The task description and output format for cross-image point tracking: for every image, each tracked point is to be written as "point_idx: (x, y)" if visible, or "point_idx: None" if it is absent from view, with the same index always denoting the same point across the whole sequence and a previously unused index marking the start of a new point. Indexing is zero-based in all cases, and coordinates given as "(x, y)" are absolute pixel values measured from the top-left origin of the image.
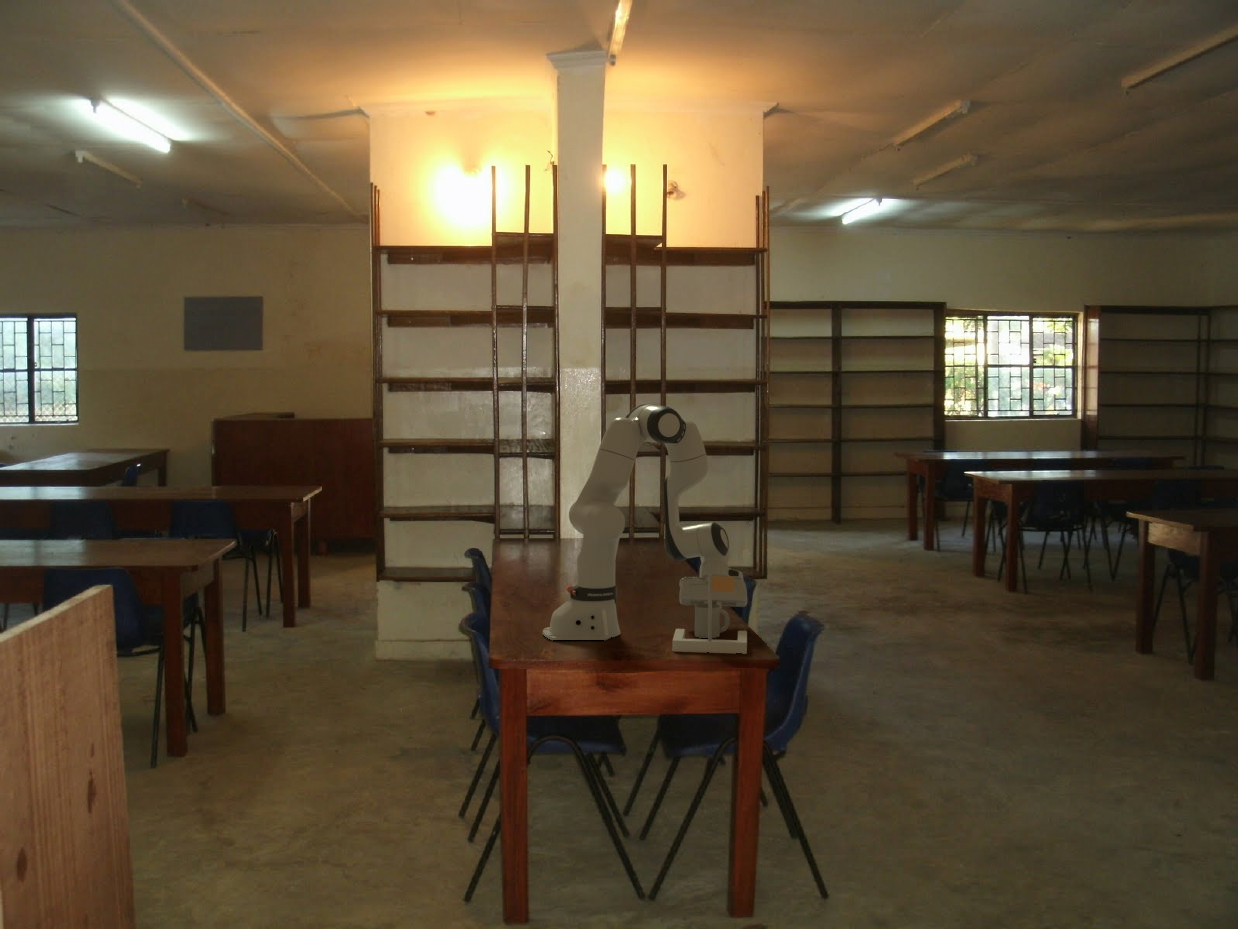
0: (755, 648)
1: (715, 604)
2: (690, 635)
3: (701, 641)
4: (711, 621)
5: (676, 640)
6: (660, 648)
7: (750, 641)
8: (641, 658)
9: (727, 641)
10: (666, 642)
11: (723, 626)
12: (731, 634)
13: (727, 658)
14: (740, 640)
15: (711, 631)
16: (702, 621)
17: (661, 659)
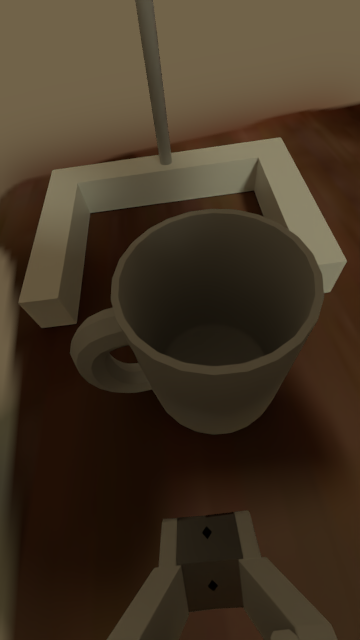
0: (29, 253)
1: (152, 349)
2: (297, 374)
3: (189, 150)
4: (149, 86)
5: (268, 139)
6: (323, 185)
7: (26, 334)
8: (323, 117)
9: (110, 167)
10: (341, 245)
11: (124, 365)
12: (96, 450)
13: None
14: (68, 184)
15: (155, 128)
16: (227, 273)
17: (273, 122)
